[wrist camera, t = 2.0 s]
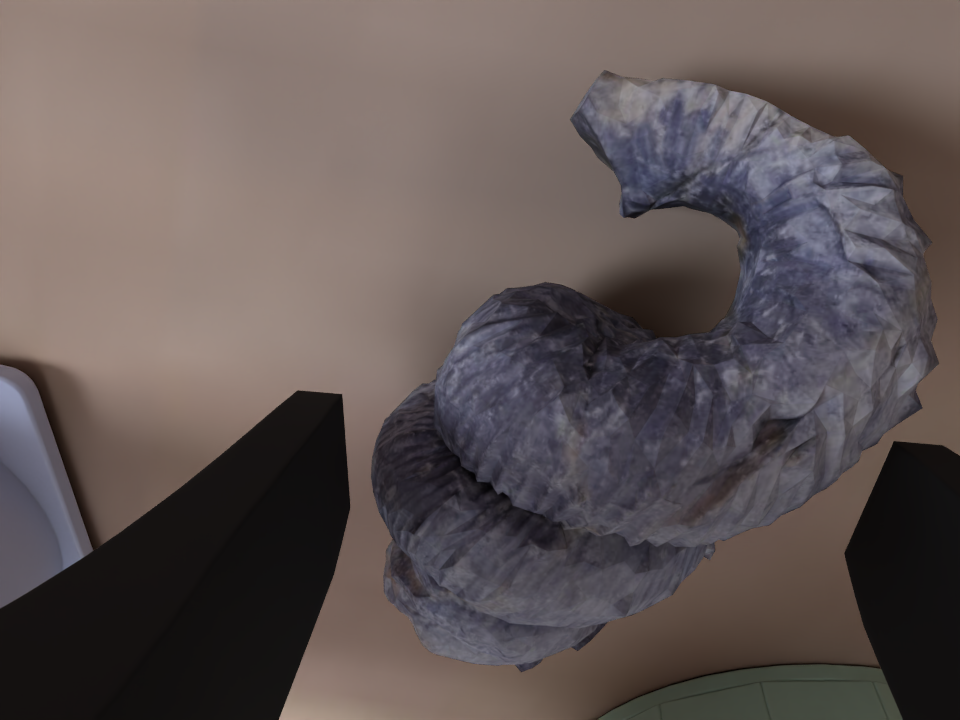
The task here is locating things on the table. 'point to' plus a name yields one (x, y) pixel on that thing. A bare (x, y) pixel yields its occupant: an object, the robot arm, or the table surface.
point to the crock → (770, 696)
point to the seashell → (655, 386)
